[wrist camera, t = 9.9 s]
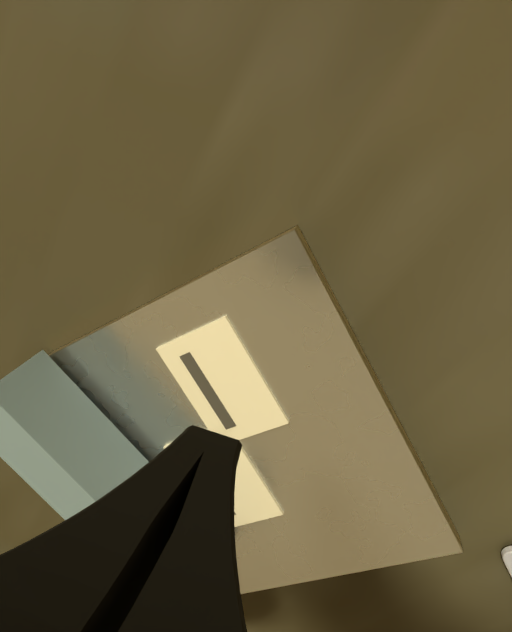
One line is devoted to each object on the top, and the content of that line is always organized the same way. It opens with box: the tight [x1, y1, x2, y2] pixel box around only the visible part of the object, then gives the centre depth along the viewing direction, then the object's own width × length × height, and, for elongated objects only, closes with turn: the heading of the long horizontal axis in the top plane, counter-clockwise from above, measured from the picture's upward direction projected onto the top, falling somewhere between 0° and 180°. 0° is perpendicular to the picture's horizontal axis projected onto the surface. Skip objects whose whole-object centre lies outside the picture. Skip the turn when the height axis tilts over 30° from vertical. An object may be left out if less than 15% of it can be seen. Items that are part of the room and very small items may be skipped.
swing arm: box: [0, 350, 148, 520], centre depth 23 cm, size 16×4×4 cm, turn 40°
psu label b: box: [163, 426, 284, 527], centre depth 24 cm, size 6×4×1 cm, turn 30°
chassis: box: [48, 225, 463, 594], centre depth 22 cm, size 18×15×5 cm
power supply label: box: [156, 315, 289, 440], centre depth 22 cm, size 6×4×1 cm, turn 30°
